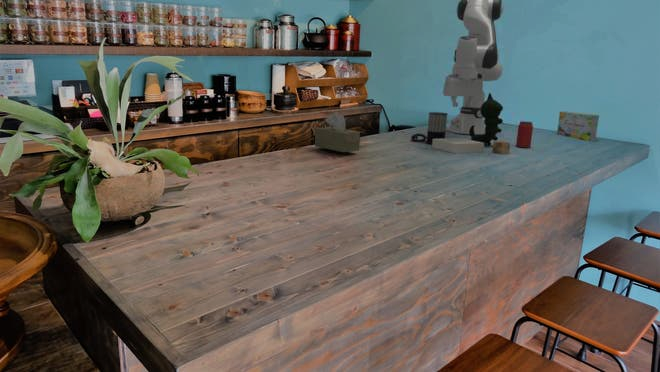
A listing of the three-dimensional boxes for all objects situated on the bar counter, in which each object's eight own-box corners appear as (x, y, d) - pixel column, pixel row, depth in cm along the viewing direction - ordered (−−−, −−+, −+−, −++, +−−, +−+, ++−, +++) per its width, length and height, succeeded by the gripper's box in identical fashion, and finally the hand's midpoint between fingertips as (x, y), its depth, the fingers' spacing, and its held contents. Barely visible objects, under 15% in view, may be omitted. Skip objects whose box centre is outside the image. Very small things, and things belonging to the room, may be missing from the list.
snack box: (555, 138, 284) (559, 111, 280) (562, 137, 286) (566, 111, 282) (588, 143, 265) (592, 114, 261) (595, 143, 267) (600, 114, 264)
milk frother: (447, 145, 238) (449, 114, 235) (413, 144, 239) (415, 112, 235) (441, 141, 252) (444, 111, 249) (409, 140, 253) (412, 110, 249)
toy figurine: (489, 148, 236) (495, 93, 230) (461, 142, 252) (466, 91, 246) (504, 147, 240) (510, 93, 234) (476, 141, 256) (481, 91, 251)
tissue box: (314, 146, 222) (315, 110, 219) (330, 144, 229) (332, 109, 225) (343, 152, 209) (345, 114, 205) (360, 150, 215) (361, 113, 212)
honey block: (492, 152, 223) (493, 141, 222) (499, 152, 225) (501, 140, 224) (501, 154, 219) (502, 143, 218) (509, 153, 221) (510, 142, 220)
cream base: (432, 147, 230) (432, 138, 229) (459, 146, 237) (460, 137, 236) (454, 153, 216) (455, 144, 215) (483, 151, 223) (484, 142, 222)
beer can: (528, 148, 239) (531, 123, 237) (514, 146, 243) (517, 121, 240) (532, 147, 244) (535, 122, 242) (518, 145, 248) (521, 120, 246)
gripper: (451, 74, 211) (448, 107, 215) (486, 75, 222) (483, 107, 225) (441, 73, 217) (438, 106, 220) (475, 75, 227) (472, 106, 230)
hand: (461, 106), depth 222 cm, fingers open, 6 cm apart
